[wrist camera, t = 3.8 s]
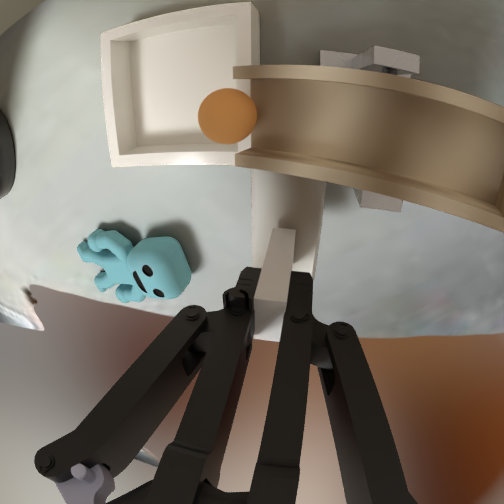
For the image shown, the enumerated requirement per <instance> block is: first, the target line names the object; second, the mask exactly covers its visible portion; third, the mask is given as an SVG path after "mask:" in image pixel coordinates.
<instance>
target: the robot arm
mask: <svg viewBox="0 0 504 504" xmlns="http://www.w3.org/2000/svg"><path fill="white" fill-rule="evenodd" d="M14 174H15V155H14V147H13V141H12V136H11V132H10V129H9V126H8V123H7V121H6V118H5V116H4V115H3V113H2V111H1V110H0V199H1V198H2V197H4V196H5V195H7V194H8V193H9V191H10V190H11V188H12V185H13V181H14ZM295 235H296V229H285V228H273V230H272V233H271V237H270V241H269V244H268V248H267V252H266V255H265V259H264V263H263V266H262V268H254V267H246V268H245V269H244V270H243V271H241V273H240V276H239V279H238V281H237V284H236V287H234V288H231V289H228V290H227V291H225V292H224V294H223V305H224V309H222V310H219V311H213V312H206V311H205V309H204V308H202V307H201V306H197V305H190V306H187V307H185V308H183V309H182V310H181V311H180V312H179V313H178V314H177V315H176V316H175V317H174V319H173V320H172V321H171V322H170V323H169V324H168V325H167V326H166V327H165V329H164V330H163V331H162V332H161V333H160V334H159V335H158V336H157V337H156V339H155V340H154V341H153V342H152V343H151V344H150V345H149V346H148V347H147V349H146V350H145V351H144V352H143V353H142V354H141V355H140V356H139V358H138V359H137V360H136V361H135V362H134V363H133V364H132V365H131V367H130V368H129V369H128V370H127V371H126V372H125V373H124V374H123V376H122V377H121V378H120V379H119V380H118V381H117V382H116V383H115V385H114V386H113V387H112V388H111V389H110V390H109V391H108V393H107V394H106V395H105V396H104V397H103V398H102V400H100V402H99V403H98V404H97V405H96V406H95V407H94V408H93V410H92V411H91V412H90V413H89V414H88V416H87V417H86V418H85V419H84V420H83V421H82V422H81V423H80V425H79V426H78V427H77V428H76V429H75V430H74V431H72V432H71V433H69V434H67V435H65V436H63V437H61V438H60V439H58V440H56V441H54V442H52V443H50V444H48V445H46V446H44V447H43V448H41V449H40V450H38V451H37V453H36V455H35V466H36V469H37V470H38V472H39V473H40V474H42V475H43V476H45V477H46V478H48V479H50V480H52V481H54V482H55V483H56V485H57V487H58V489H59V491H60V493H61V494H62V496H63V498H64V500H65V502H66V503H67V504H105V501H106V499H107V497H108V496H109V494H110V493H111V492H113V491H114V489H115V485H114V484H115V483H114V479H113V478H114V477H116V476H117V475H118V474H120V473H121V472H122V471H123V470H124V469H125V468H126V467H127V466H128V465H129V464H130V463H131V462H132V460H133V459H134V458H135V456H136V455H137V454H138V452H139V451H140V450H141V449H142V447H143V446H144V445H145V443H146V442H147V441H148V439H149V438H150V437H151V435H152V434H153V433H154V431H155V430H156V429H157V427H158V426H159V425H160V423H161V422H162V421H163V419H164V418H165V417H166V415H167V414H168V413H169V411H170V410H171V409H172V407H173V406H174V404H175V403H176V402H177V400H178V399H179V398H180V396H181V395H182V394H183V392H184V391H185V389H186V388H187V387H188V385H189V384H190V383H191V381H192V380H193V378H194V377H195V376H196V374H197V373H198V372H199V370H200V369H201V370H200V372H199V375H198V378H197V380H196V383H195V386H194V388H193V391H192V394H191V397H190V399H189V402H188V404H187V407H186V410H185V412H184V415H183V418H182V421H181V423H180V426H179V429H178V431H177V434H176V437H175V439H174V441H173V442H172V443H170V444H168V446H167V447H166V449H165V451H164V453H163V455H162V458H161V460H160V463H159V466H158V468H157V471H156V474H155V476H154V479H153V480H151V481H149V482H147V483H145V484H143V485H141V486H139V487H138V488H136V489H134V490H132V491H130V492H128V493H126V494H124V495H122V496H120V497H118V498H116V499H114V500H112V501H110V502H108V503H106V504H295V501H296V495H297V489H298V482H299V475H300V467H299V464H300V456H301V448H302V440H303V431H304V424H305V414H306V404H307V394H308V382H309V370H310V364H313V365H316V366H318V372H319V376H320V380H321V384H322V389H323V393H324V397H325V401H326V406H327V410H328V415H329V419H330V424H331V428H332V432H333V437H334V442H335V447H336V451H337V456H338V461H339V466H340V471H341V476H342V482H343V486H344V492H345V497H346V502H347V504H418V503H417V502H416V501H415V499H414V498H413V497H412V496H411V494H410V493H409V492H408V489H407V485H406V481H405V477H404V474H403V470H402V467H401V463H400V459H399V456H398V452H397V449H396V446H395V443H394V439H393V436H392V433H391V430H390V426H389V423H388V420H387V417H386V414H385V411H384V408H383V405H382V402H381V399H380V396H379V393H378V390H377V388H376V385H375V382H374V379H373V376H372V374H371V371H370V368H369V365H368V363H367V360H366V358H365V355H364V352H363V350H362V347H361V344H360V342H359V339H358V337H357V334H356V331H355V330H354V328H353V327H352V326H351V325H349V324H348V323H345V322H334V323H332V324H331V325H326V324H323V323H321V322H319V321H318V320H316V319H315V318H314V316H313V314H312V295H313V278H312V276H311V274H310V273H309V272H299V271H292V269H293V259H294V247H295ZM253 335H254V339H260V340H268V341H276V342H280V343H279V349H278V355H277V361H276V367H275V373H274V378H273V384H272V389H271V395H270V400H269V405H268V411H267V416H266V421H265V426H264V432H263V436H262V441H261V446H260V451H259V455H258V460H257V463H256V466H255V470H254V475H253V479H252V484H251V488H250V492H231V493H230V492H229V493H228V492H223V491H221V490H219V489H217V486H218V482H219V477H220V469H221V464H222V461H223V457H224V453H225V450H226V446H227V442H228V439H229V435H230V431H231V428H232V424H233V420H234V416H235V413H236V409H237V405H238V401H239V397H240V394H241V390H242V386H243V382H244V378H245V374H246V370H247V366H248V362H249V358H250V354H251V350H252V339H253Z"/></svg>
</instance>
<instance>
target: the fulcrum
mask: <svg viewBox="0 0 504 504" xmlns="http://www.w3.org/2000/svg"><path fill="white" fill-rule="evenodd" d="M320 66H330V67H341V68H351V69H360V70H367V71H374V72H380V73H386V74H392V75H397V76H402V77H407V78H411V74H419V68H420V56H419V55H415V54H411V53H407V52H403V51H399V50H395V49H390V48H386V47H381V46H376V45H374V46H372V47H370V48H369V49H367V50H365V51H364V52H362V53H361V54H359V55H358V54H351V53H344V52H335V51H325V50H320ZM353 189H354V192H355V194H356V197H357V200H358V202H359V205H360V207H363V208H372V209H380V210H387V211H395V212H401V208H402V204H403V200H401V199H397V198H394V197H390V196H386V195H382V194H378V193H374V192H370V191H366V190H361V189H357V188H353Z"/></svg>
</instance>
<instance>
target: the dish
mask: <svg viewBox="0 0 504 504" xmlns="http://www.w3.org/2000/svg"><path fill="white" fill-rule="evenodd" d="M248 65H260V13H259V12H258V10H257V9H256V8H255V6H254V5H253V4H252V3H251V2H238V3H227V4H218V5H210V6H203V7H197V8H191V9H185V10H180V11H175V12H171V13H166V14H162V15H158V16H154V17H150V18H146V19H142V20H139V21H135V22H132V23H129V24H125V25H122V26H119V27H116V28H113V29H111V30H108V31H105V32H102V33H101V72H102V88H103V101H104V111H105V121H106V129H107V137H108V144H109V151H110V157H111V164H112V167H126V166H147V165H235V154H236V153H238V152H241V151H244V150H246V149H249V148H251V133H250V135H249V136H247V137H246V138H245V139H243V140H242V141H240V142H237V143H234V144H220V143H217V142H214V141H212V140H210V139H209V138H208V137H207V136H206V135H205V134H204V133H203V132H202V130H201V128H200V126H199V123H198V111H199V107H200V105H201V103H202V101H203V100H204V99H205V98H206V97H207V96H208V95H209V94H210V93H212V92H214V91H216V90H219V89H223V88H233V89H237V90H240V91H242V92H244V93H245V94H247V95H248V96H249V97H250V98H251V95H250V79H233V66H248Z"/></svg>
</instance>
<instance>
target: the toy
mask: <svg viewBox="0 0 504 504" xmlns="http://www.w3.org/2000/svg"><path fill="white" fill-rule="evenodd" d="M106 249H109V250H110V251H108V250H106ZM77 251H78V253H79V255H80V257H81V259H82V260H83V261H84V262H93V263H95V264H97V265H99V266H101V267H103V268H104V270H105V272H100V273H99V274H98V275H97V276H96V277H95V279H94V282H95V284H96V286H97V287H98V289H99V291H101V292H104V291H106V289H107V288H111V287H112V286H114V285H115V284H117V283H119V284H120V286H119V287H118V288H117V289H116V292H115V294H116V297H117V298H118V300H119V301H121V302H123V303H128V302H130V301H135V302H141V301H143V300H144V298H145V297H146V296H147V297H150V298H161V299H174V298H176V297H178V296H179V295H181V293H182V292H183V291H184V289H185V288H186V287H187V285H188V284H189V282H190V280H191V270H190V267H189V265H188V263H187V260H186V258H185V255H184V253H183V250H182V248H181V245H180V243H179V242H178V241H177V240H176V239H174V238H172V237H169V236H165V237H153V238H145V239H143V240H141V241H140V242H139V243H138V244H137V245H136V246H135V247H133V245H132V243H131V241H130V240H128V239H127V238H126V237H124V236H123V235H121V234H120V233H119V232H117V231H115V230H111V231H104V230H102V229H97V230H95V231H94V232H93V233H92V234H90V235H89V237H88V243H87V242H86V241H83V242H82V243H80V244H79V245H78V247H77Z"/></svg>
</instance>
